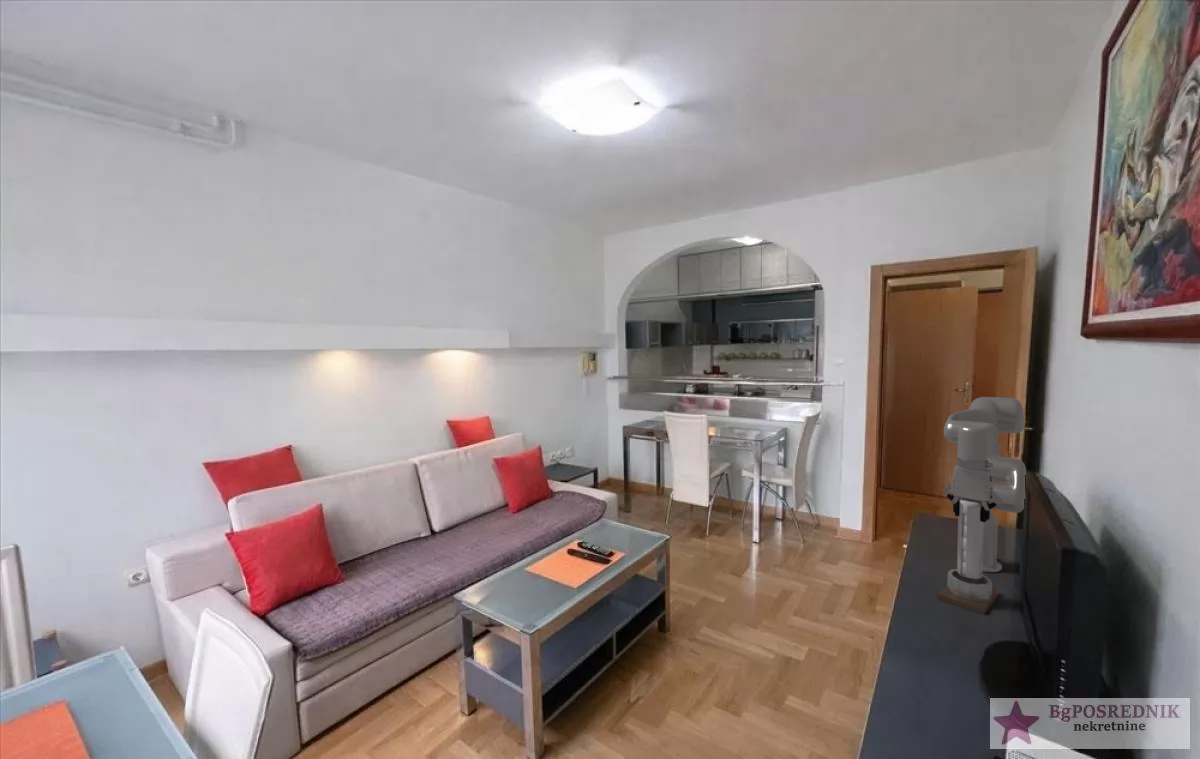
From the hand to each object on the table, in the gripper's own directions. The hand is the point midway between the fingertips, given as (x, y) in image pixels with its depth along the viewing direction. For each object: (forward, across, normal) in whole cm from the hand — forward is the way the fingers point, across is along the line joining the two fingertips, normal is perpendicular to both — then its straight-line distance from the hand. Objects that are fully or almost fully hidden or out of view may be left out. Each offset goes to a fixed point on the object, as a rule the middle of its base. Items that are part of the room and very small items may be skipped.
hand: (970, 517), depth 151 cm
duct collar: (+26, 0, 0) cm, 26 cm away
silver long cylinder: (+19, 0, 0) cm, 19 cm away
